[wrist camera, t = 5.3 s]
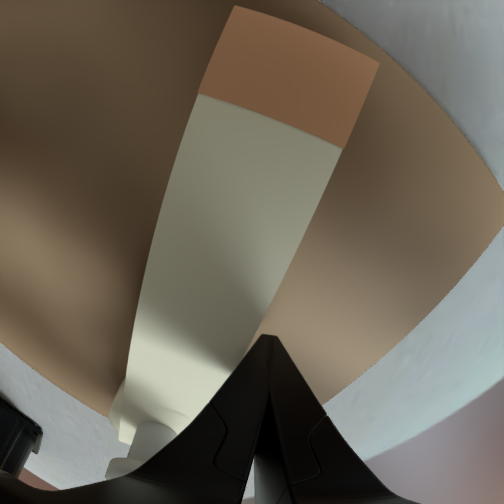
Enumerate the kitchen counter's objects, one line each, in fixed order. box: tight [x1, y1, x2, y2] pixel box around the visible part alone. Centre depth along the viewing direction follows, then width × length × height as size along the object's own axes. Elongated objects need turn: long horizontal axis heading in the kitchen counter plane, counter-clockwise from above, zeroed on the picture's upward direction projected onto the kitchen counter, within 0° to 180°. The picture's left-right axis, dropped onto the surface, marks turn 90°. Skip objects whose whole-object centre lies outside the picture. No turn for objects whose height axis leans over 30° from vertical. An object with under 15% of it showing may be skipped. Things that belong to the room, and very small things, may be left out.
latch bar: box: [105, 5, 380, 480], centre depth 7 cm, size 15×4×4 cm, turn 159°
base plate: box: [0, 0, 504, 418], centre depth 9 cm, size 18×22×1 cm
